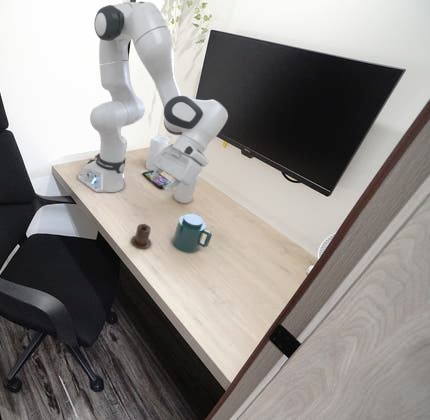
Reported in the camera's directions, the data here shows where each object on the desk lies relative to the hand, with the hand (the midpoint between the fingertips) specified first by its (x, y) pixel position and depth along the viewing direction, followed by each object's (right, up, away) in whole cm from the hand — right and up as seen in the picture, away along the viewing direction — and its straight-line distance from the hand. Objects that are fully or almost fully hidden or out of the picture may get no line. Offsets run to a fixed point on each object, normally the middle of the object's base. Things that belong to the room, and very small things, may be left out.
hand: (158, 185), depth 106 cm
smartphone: (+15, +6, +49) cm, 51 cm away
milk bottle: (+22, -3, +36) cm, 42 cm away
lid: (-3, -20, +12) cm, 24 cm away
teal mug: (+14, -21, +11) cm, 28 cm away
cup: (+16, +14, +59) cm, 63 cm away
